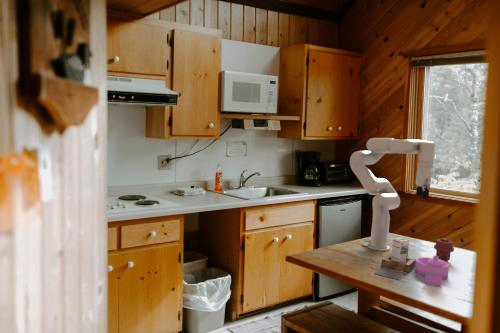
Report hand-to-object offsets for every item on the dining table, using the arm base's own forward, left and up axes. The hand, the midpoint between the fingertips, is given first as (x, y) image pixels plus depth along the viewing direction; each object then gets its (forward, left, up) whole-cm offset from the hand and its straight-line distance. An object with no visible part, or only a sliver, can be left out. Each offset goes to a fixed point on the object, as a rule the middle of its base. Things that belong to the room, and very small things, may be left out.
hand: (422, 197), depth 257 cm
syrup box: (-4, -19, -35) cm, 40 cm away
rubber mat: (-4, -33, -34) cm, 48 cm away
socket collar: (-4, -19, -34) cm, 39 cm away
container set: (+14, -24, -35) cm, 44 cm away
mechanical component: (+12, +8, -35) cm, 37 cm away
